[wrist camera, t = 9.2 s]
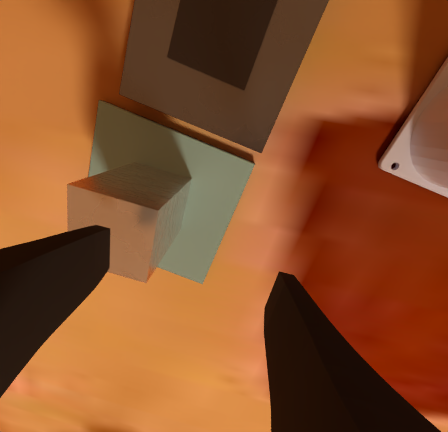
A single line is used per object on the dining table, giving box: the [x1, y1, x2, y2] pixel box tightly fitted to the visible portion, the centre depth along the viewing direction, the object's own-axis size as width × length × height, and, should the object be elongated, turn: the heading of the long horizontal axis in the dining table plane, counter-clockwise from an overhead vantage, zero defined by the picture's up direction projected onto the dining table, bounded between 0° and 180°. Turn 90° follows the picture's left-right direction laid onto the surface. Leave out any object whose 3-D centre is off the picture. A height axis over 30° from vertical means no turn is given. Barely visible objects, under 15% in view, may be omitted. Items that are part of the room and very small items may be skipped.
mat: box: [88, 100, 255, 284], centre depth 19 cm, size 12×12×1 cm
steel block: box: [67, 162, 192, 283], centre depth 15 cm, size 5×5×7 cm
